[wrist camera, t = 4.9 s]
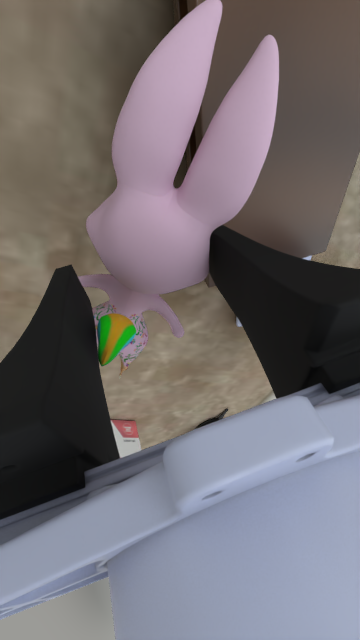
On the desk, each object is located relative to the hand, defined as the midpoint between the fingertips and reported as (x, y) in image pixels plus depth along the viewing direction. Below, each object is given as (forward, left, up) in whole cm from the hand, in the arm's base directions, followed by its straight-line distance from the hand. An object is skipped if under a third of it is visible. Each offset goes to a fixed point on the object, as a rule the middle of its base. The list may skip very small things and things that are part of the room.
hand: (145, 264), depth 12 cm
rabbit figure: (0, -1, -2) cm, 2 cm away
